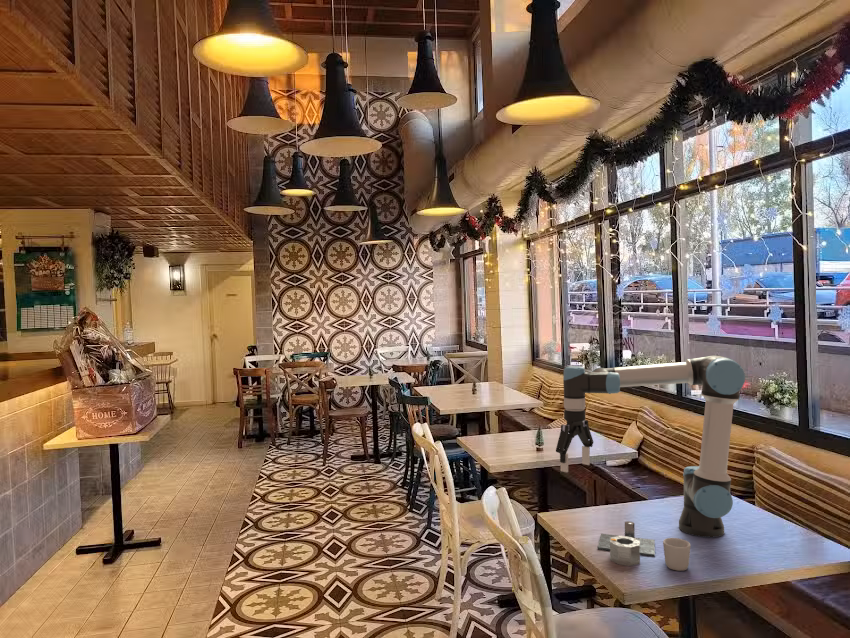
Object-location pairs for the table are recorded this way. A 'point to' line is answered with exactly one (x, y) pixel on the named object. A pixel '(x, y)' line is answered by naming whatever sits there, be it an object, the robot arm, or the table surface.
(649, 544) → the plate with peg
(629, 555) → the ring
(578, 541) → the table surface
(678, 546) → the cup
